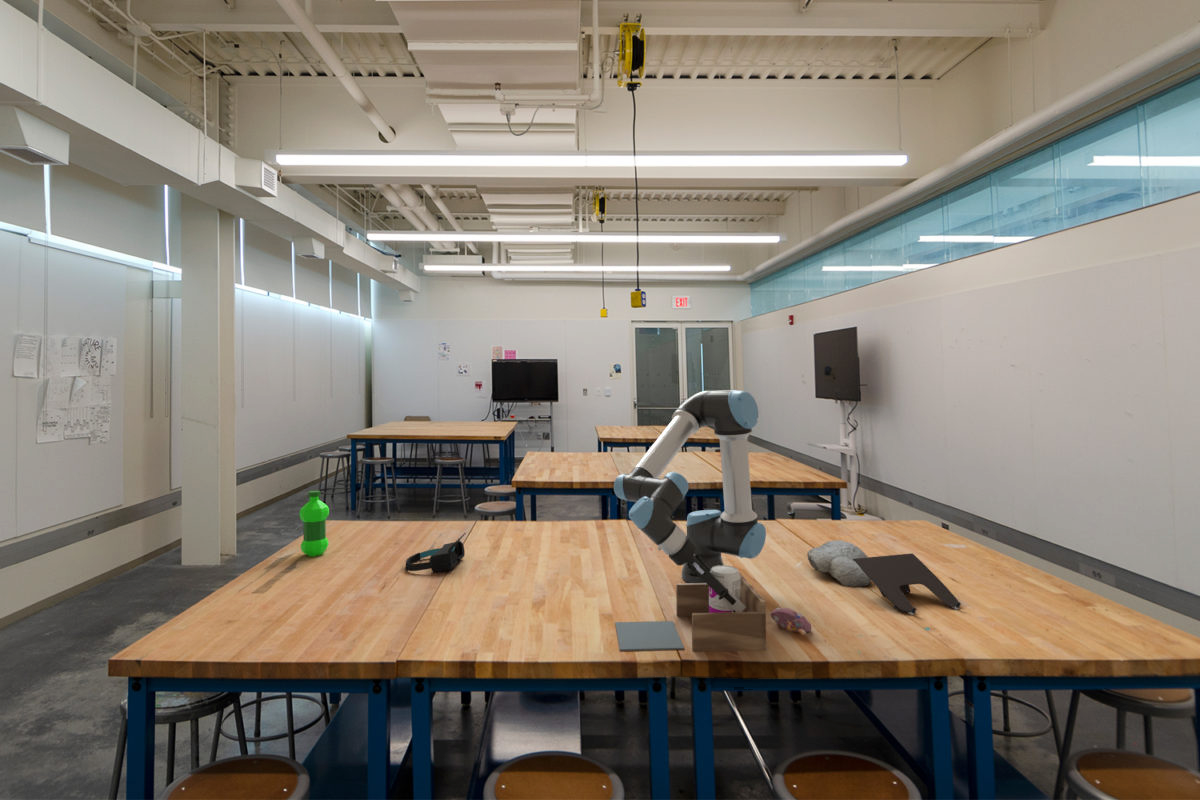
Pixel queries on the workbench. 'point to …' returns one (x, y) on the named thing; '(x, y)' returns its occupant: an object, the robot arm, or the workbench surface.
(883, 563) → the portable electronic device stand
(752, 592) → the wooden u-shaped enclosure
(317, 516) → the plastic bottle
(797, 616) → the video game controller
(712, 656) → the workbench surface
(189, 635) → the workbench surface
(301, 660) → the workbench surface
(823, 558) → the grey rock
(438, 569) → the virtual reality headset
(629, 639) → the mat
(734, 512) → the robot arm
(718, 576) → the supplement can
